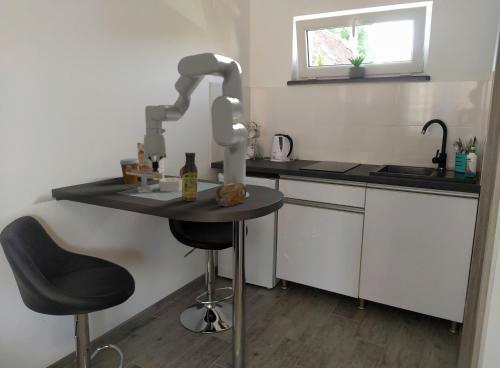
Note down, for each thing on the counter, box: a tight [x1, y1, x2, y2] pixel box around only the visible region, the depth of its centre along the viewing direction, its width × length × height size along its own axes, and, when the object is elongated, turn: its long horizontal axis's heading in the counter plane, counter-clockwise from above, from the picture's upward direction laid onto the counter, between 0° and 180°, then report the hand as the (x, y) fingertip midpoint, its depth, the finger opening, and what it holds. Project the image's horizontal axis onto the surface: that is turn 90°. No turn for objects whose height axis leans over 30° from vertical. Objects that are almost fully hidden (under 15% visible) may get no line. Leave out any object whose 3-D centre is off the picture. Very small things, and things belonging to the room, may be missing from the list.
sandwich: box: [215, 183, 247, 208], centre depth 146 cm, size 15×3×8 cm, turn 137°
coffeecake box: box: [137, 141, 165, 181], centre depth 205 cm, size 15×7×20 cm, turn 50°
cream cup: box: [158, 177, 182, 192], centre depth 175 cm, size 11×11×4 cm
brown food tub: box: [119, 158, 139, 184], centre depth 190 cm, size 10×10×12 cm
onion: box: [179, 165, 199, 178], centre depth 193 cm, size 10×9×10 cm
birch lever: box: [126, 165, 163, 180], centre depth 173 cm, size 13×16×3 cm
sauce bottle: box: [181, 151, 199, 202], centre depth 151 cm, size 6×6×20 cm
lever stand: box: [136, 174, 153, 194], centre depth 170 cm, size 9×6×8 cm, turn 21°
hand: (155, 169), depth 179 cm, fingers closed
